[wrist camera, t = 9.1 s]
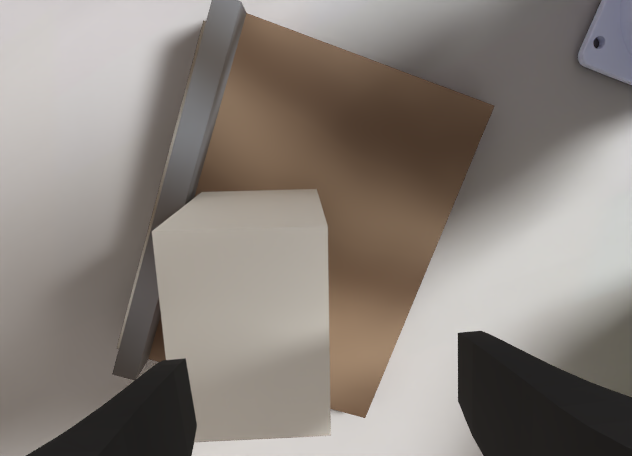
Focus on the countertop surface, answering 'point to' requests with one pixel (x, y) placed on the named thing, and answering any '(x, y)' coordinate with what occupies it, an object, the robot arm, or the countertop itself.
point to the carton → (249, 311)
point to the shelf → (317, 177)
